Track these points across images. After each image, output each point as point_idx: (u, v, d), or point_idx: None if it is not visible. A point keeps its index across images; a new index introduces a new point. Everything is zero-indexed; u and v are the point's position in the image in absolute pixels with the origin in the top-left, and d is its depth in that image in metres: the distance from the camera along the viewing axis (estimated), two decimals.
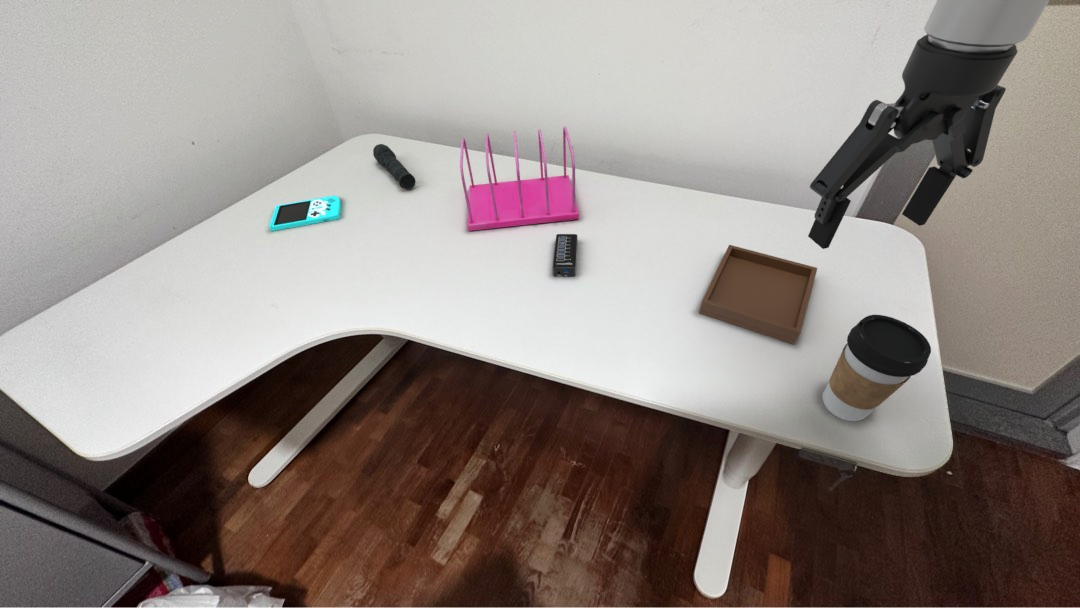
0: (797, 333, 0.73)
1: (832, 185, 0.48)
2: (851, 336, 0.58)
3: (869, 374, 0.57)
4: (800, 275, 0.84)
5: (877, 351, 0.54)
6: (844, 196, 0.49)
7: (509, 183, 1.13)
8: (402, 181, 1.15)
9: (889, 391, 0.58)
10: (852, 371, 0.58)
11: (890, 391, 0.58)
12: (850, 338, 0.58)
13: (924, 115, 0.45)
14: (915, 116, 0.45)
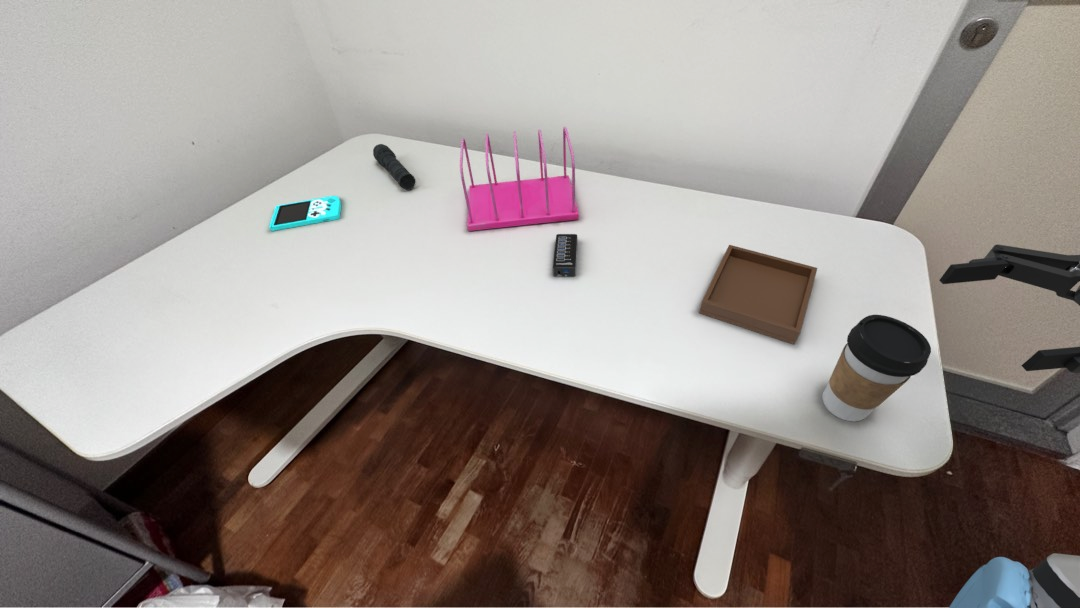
0: (797, 333, 0.73)
1: (1007, 246, 0.59)
2: (851, 336, 0.58)
3: (869, 374, 0.57)
4: (800, 275, 0.84)
5: (877, 351, 0.54)
6: (1007, 257, 0.57)
7: (509, 184, 1.13)
8: (402, 181, 1.15)
9: (889, 391, 0.58)
10: (852, 371, 0.58)
11: (890, 391, 0.58)
12: (850, 338, 0.58)
13: None
14: None
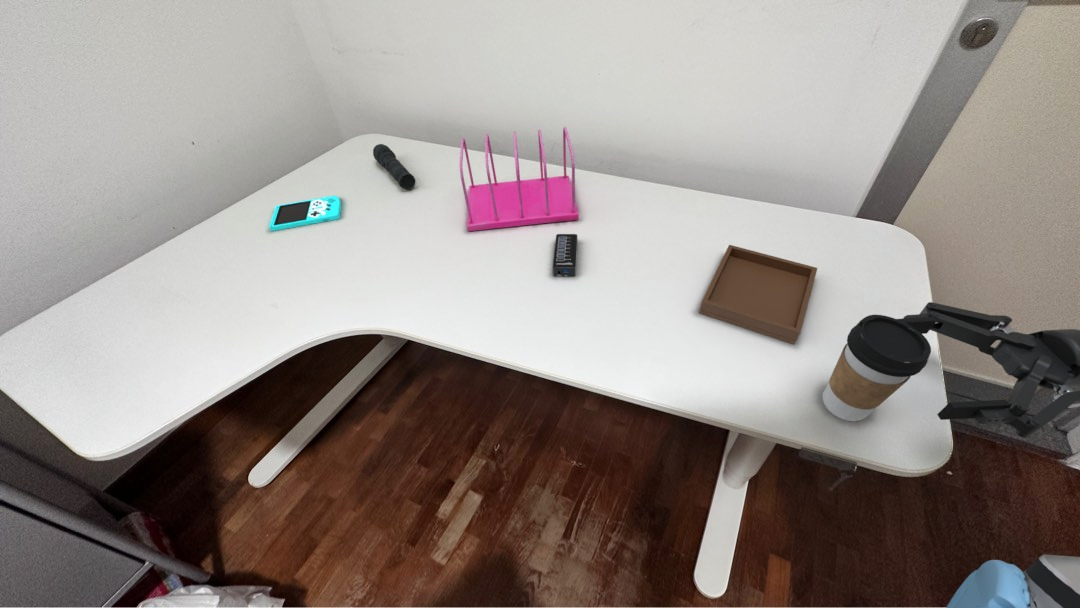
0: (797, 333, 0.73)
1: (939, 304, 0.66)
2: (851, 336, 0.58)
3: (869, 374, 0.57)
4: (800, 275, 0.84)
5: (877, 351, 0.54)
6: (937, 314, 0.64)
7: (509, 184, 1.12)
8: (402, 181, 1.15)
9: (889, 391, 0.58)
10: (852, 371, 0.58)
11: (890, 391, 0.58)
12: (850, 338, 0.58)
13: None
14: (1018, 336, 0.61)
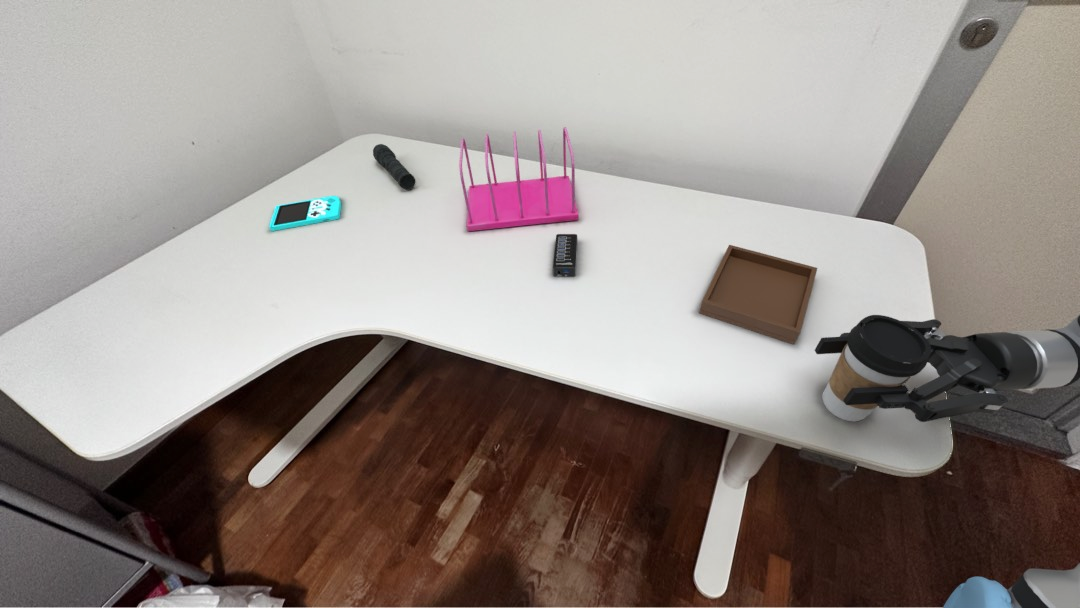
0: (797, 333, 0.73)
1: None
2: (851, 336, 0.58)
3: (869, 374, 0.57)
4: (800, 275, 0.84)
5: (877, 351, 0.54)
6: None
7: (509, 184, 1.12)
8: (402, 181, 1.15)
9: None
10: (852, 371, 0.58)
11: None
12: (850, 338, 0.58)
13: None
14: (952, 339, 0.61)
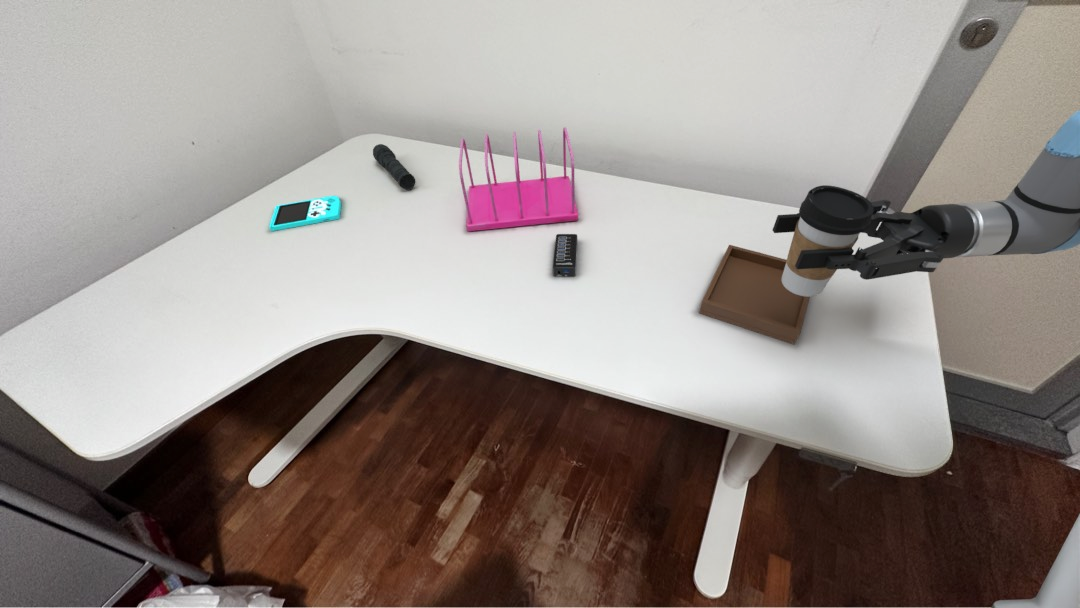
0: (797, 333, 0.73)
1: None
2: (802, 205, 0.62)
3: (818, 237, 0.61)
4: None
5: (823, 211, 0.59)
6: None
7: (509, 184, 1.12)
8: (402, 181, 1.15)
9: None
10: (803, 239, 0.63)
11: None
12: (801, 207, 0.62)
13: None
14: (899, 214, 0.65)
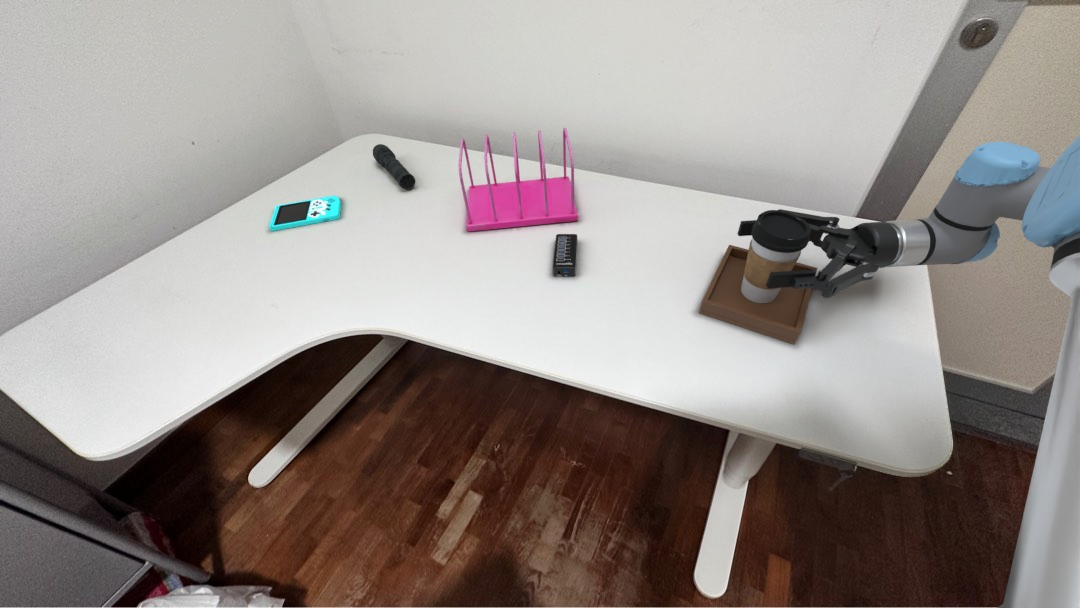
0: (797, 333, 0.73)
1: (786, 210, 0.81)
2: (753, 227, 0.74)
3: (766, 254, 0.72)
4: None
5: (769, 232, 0.70)
6: None
7: (509, 184, 1.12)
8: (402, 181, 1.15)
9: (783, 269, 0.73)
10: (755, 255, 0.74)
11: (784, 269, 0.73)
12: (753, 228, 0.74)
13: None
14: (840, 230, 0.76)
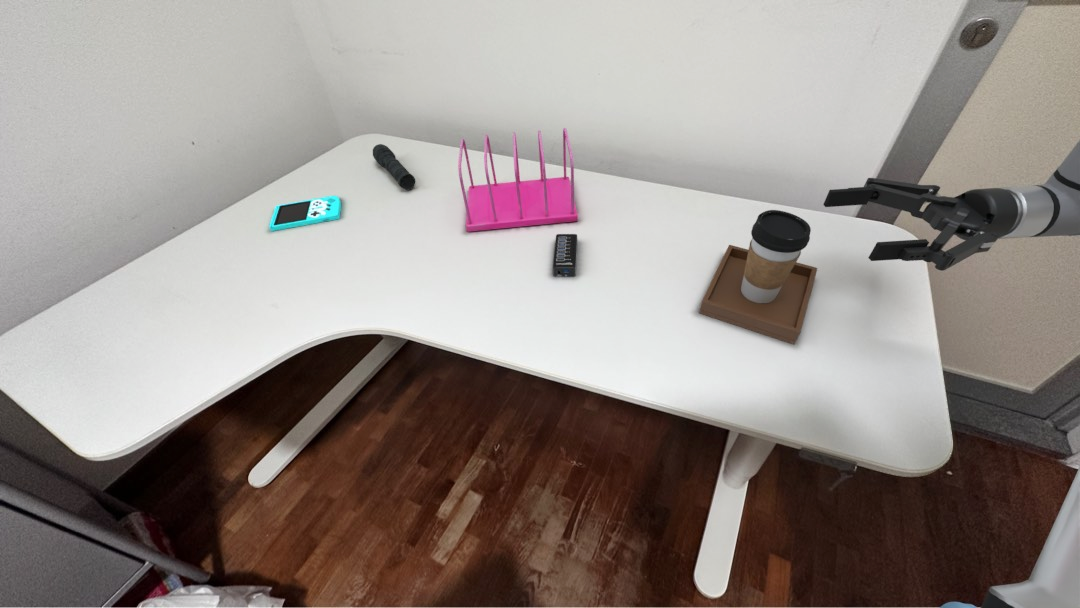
0: (797, 333, 0.73)
1: (878, 179, 0.73)
2: (753, 227, 0.74)
3: (766, 254, 0.72)
4: (800, 275, 0.84)
5: (769, 232, 0.70)
6: (875, 185, 0.72)
7: (509, 184, 1.12)
8: (402, 181, 1.15)
9: (783, 269, 0.73)
10: (755, 255, 0.74)
11: (783, 269, 0.73)
12: (753, 228, 0.74)
13: None
14: None
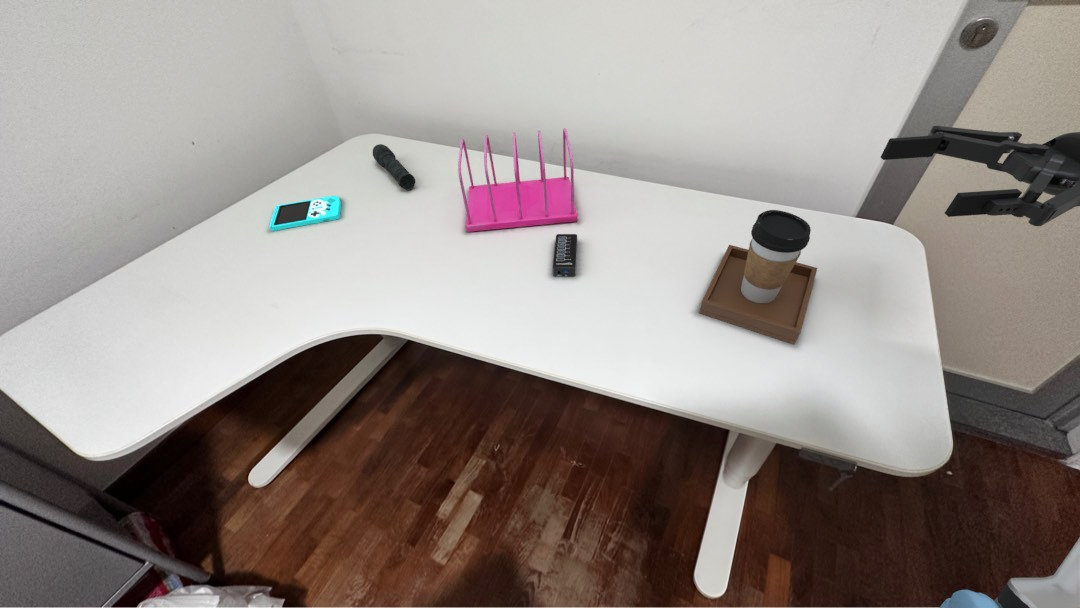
0: (797, 333, 0.73)
1: (945, 127, 0.63)
2: (753, 227, 0.74)
3: (766, 254, 0.72)
4: (800, 275, 0.84)
5: (769, 232, 0.70)
6: (943, 133, 0.61)
7: (509, 184, 1.12)
8: (402, 181, 1.15)
9: (783, 269, 0.73)
10: (755, 255, 0.74)
11: (783, 269, 0.73)
12: (753, 228, 0.74)
13: None
14: None
